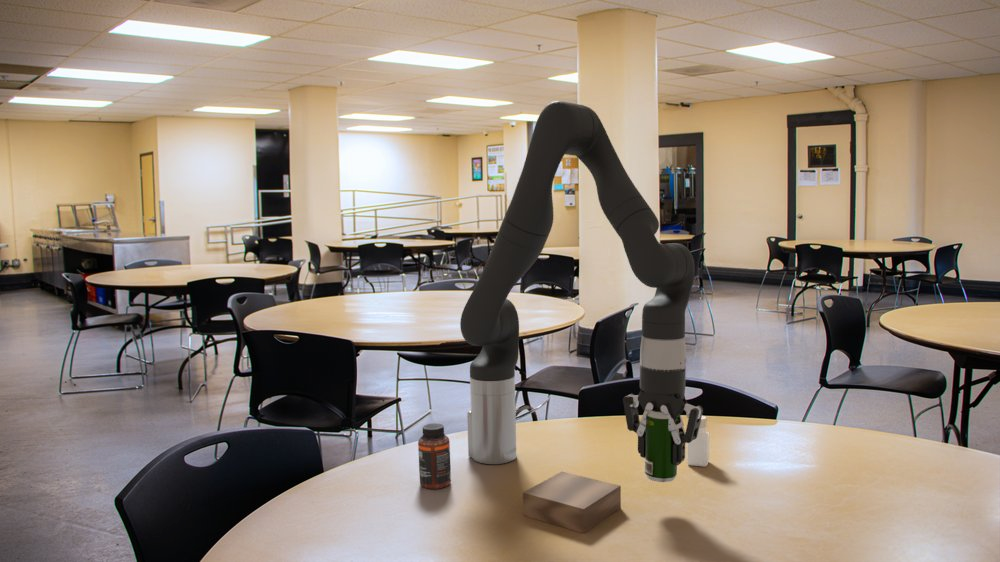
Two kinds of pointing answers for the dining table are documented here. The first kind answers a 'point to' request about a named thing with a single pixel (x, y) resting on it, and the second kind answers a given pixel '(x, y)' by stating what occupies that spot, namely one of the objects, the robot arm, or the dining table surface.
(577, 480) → the walnut plinth
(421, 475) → the supplement bottle
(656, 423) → the beer can
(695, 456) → the pepper shaker
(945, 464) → the dining table surface
